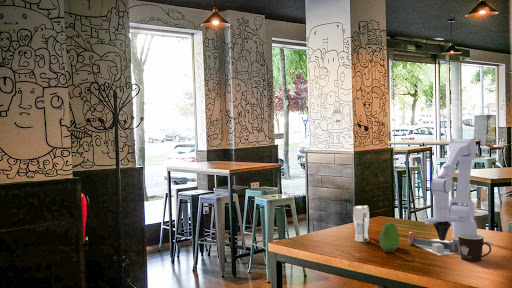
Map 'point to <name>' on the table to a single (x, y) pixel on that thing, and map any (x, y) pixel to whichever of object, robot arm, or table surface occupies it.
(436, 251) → the white flat block
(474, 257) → the coffee mug
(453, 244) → the lever
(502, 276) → the table surface
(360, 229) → the beer glass
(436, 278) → the table surface
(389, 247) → the avocado
